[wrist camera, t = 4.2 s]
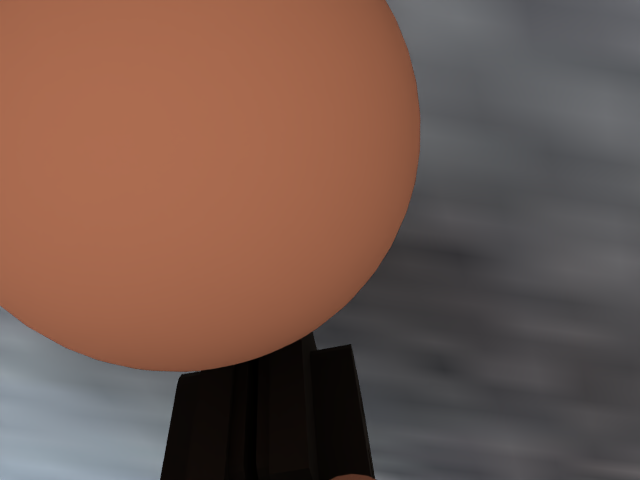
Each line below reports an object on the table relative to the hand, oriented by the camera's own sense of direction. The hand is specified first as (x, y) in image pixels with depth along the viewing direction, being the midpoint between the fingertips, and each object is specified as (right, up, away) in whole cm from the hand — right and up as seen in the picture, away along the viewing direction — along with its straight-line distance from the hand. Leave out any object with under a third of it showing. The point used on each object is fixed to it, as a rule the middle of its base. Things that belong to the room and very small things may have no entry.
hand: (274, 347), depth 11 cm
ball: (-1, +3, -4) cm, 5 cm away
